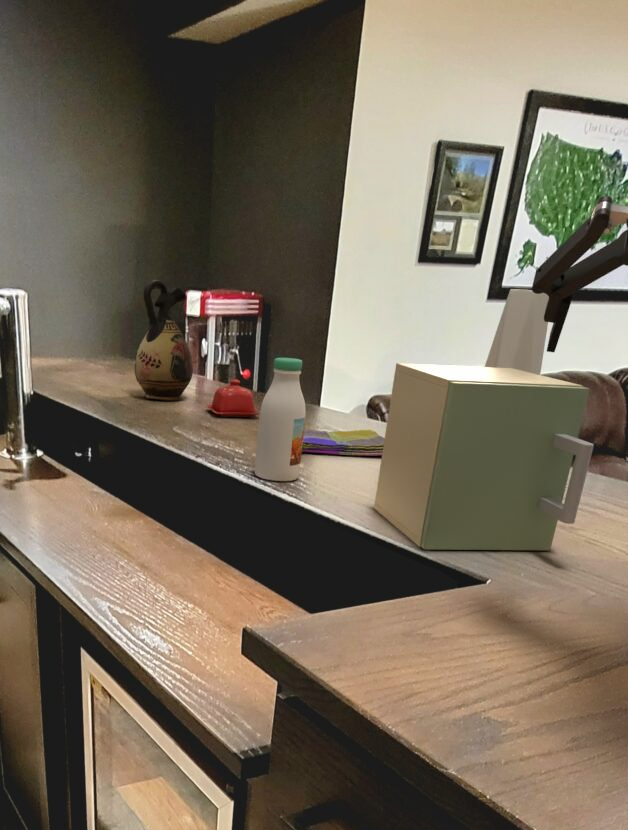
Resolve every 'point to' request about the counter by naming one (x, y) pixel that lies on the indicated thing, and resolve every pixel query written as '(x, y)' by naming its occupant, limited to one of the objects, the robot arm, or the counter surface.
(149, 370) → the ceramic jug
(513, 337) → the tall faceted taper
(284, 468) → the milk bottle
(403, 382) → the cupboard
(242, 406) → the butter dish
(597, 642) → the counter surface
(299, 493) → the counter surface
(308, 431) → the dish towel
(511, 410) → the cupboard door
